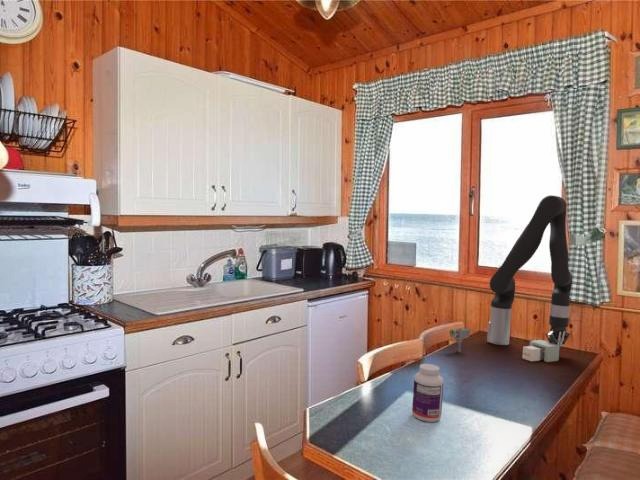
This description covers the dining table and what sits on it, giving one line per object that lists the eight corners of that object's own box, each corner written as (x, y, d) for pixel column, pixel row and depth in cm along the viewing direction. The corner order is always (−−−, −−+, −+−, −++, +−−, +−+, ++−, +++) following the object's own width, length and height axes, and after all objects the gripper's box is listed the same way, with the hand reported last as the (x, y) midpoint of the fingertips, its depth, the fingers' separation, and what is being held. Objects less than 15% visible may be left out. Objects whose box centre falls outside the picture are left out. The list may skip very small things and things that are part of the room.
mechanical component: (447, 351, 191) (448, 328, 191) (465, 350, 195) (466, 327, 195) (451, 353, 188) (453, 330, 188) (470, 351, 193) (471, 329, 192)
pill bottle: (419, 408, 130) (422, 360, 129) (445, 417, 125) (449, 367, 124) (406, 416, 124) (409, 366, 123) (433, 426, 119) (436, 373, 118)
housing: (539, 354, 195) (540, 339, 195) (558, 360, 187) (559, 345, 186) (528, 355, 192) (529, 340, 191) (547, 362, 184) (548, 346, 183)
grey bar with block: (549, 355, 194) (550, 344, 193) (558, 358, 190) (559, 347, 189) (520, 358, 187) (521, 346, 187) (528, 361, 183) (529, 349, 183)
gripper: (561, 312, 198) (558, 350, 199) (541, 314, 192) (538, 353, 193) (577, 316, 191) (574, 355, 192) (557, 317, 186) (554, 358, 186)
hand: (556, 354), depth 193 cm, fingers closed
